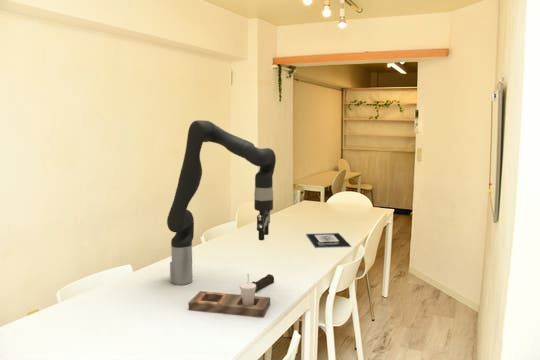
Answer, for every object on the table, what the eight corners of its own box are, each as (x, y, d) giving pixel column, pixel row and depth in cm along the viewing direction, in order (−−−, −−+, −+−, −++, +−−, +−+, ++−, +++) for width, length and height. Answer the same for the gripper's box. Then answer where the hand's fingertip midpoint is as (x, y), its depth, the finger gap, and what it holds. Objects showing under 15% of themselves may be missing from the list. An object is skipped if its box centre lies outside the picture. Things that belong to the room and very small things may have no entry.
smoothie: (256, 305, 178) (256, 271, 176) (256, 312, 172) (256, 277, 170) (240, 305, 178) (240, 271, 176) (239, 312, 172) (239, 277, 170)
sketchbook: (315, 249, 259) (315, 245, 259) (305, 236, 288) (305, 232, 288) (351, 248, 261) (351, 244, 261) (338, 234, 291) (338, 231, 290)
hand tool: (267, 281, 206) (267, 271, 205) (274, 283, 203) (274, 273, 203) (242, 294, 190) (242, 284, 189) (249, 296, 188) (249, 286, 187)
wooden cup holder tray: (188, 309, 174) (188, 301, 174) (200, 297, 186) (200, 290, 185) (263, 317, 167) (263, 309, 167) (270, 304, 179) (270, 297, 179)
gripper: (258, 194, 186) (258, 232, 189) (250, 200, 173) (250, 241, 175) (276, 195, 185) (275, 233, 187) (269, 201, 171) (269, 242, 173)
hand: (263, 237), depth 181 cm, fingers open, 8 cm apart
